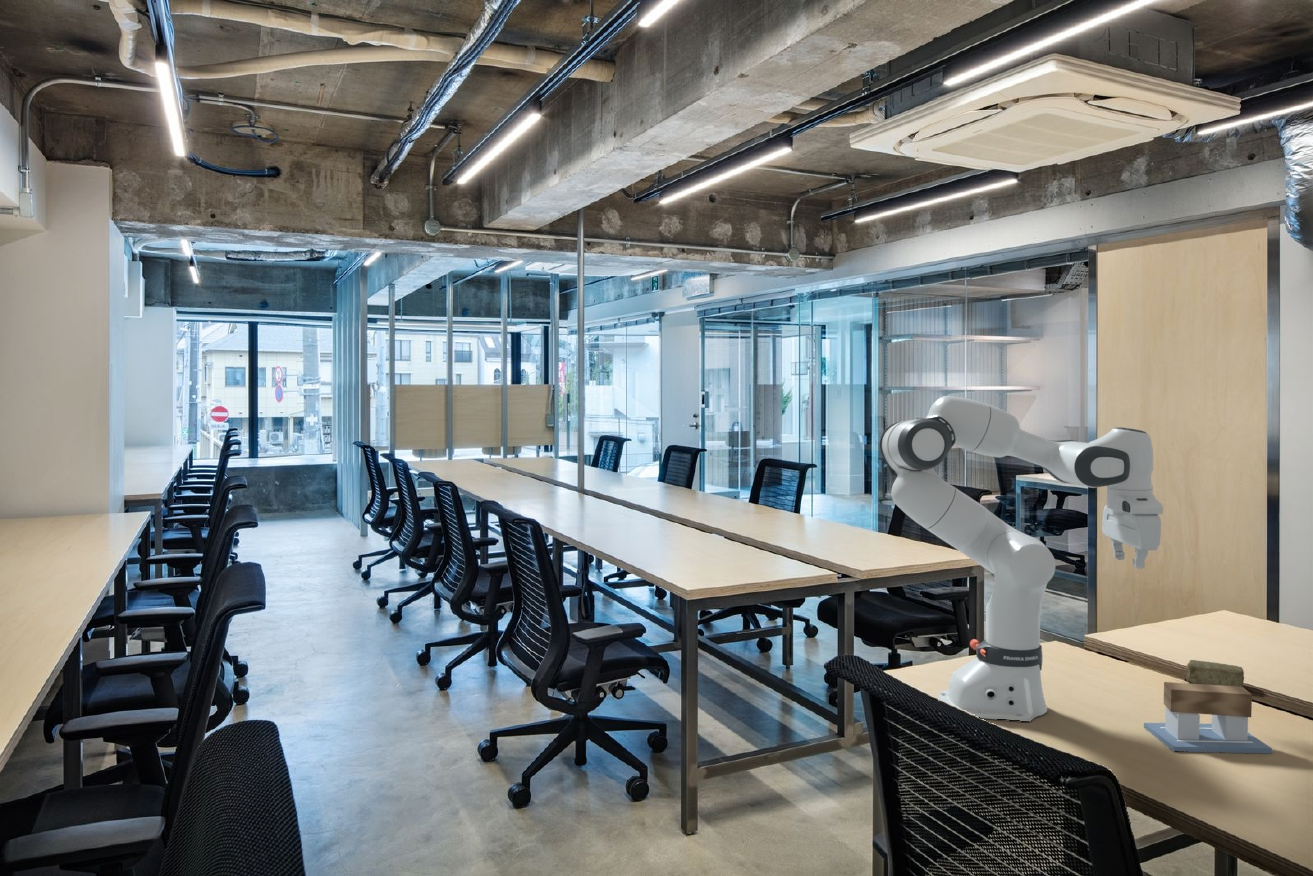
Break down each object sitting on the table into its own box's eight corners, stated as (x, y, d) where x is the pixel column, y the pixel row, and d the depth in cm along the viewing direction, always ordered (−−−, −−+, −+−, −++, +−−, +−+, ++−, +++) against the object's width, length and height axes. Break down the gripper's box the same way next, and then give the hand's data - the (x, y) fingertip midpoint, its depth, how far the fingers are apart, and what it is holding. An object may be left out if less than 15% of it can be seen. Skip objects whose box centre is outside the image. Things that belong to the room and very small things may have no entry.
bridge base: (1173, 751, 169) (1174, 721, 168) (1143, 727, 180) (1144, 699, 180) (1271, 753, 167) (1272, 722, 167) (1235, 729, 179) (1236, 700, 179)
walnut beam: (1170, 711, 173) (1171, 689, 173) (1163, 703, 177) (1164, 682, 177) (1251, 717, 170) (1251, 694, 169) (1242, 709, 174) (1242, 686, 174)
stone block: (1244, 693, 200) (1244, 671, 200) (1185, 685, 206) (1185, 664, 206) (1243, 685, 205) (1243, 664, 204) (1186, 677, 211) (1186, 657, 211)
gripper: (1094, 495, 203) (1094, 554, 204) (1135, 507, 183) (1134, 573, 184) (1123, 495, 203) (1122, 554, 203) (1167, 507, 182) (1166, 573, 183)
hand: (1128, 563), depth 193 cm, fingers open, 8 cm apart
